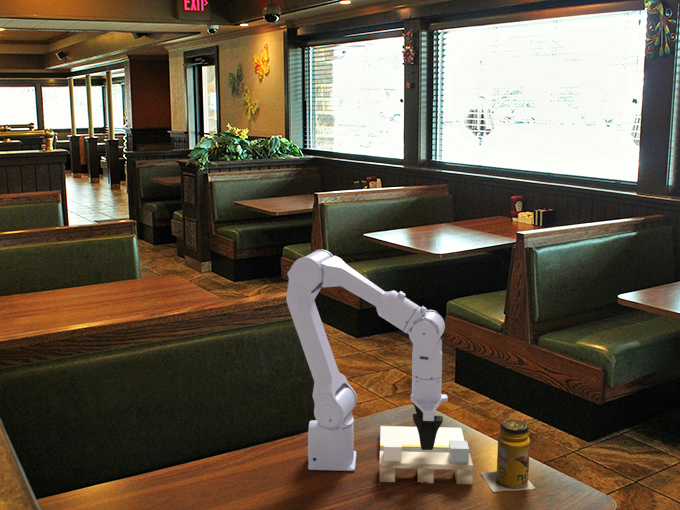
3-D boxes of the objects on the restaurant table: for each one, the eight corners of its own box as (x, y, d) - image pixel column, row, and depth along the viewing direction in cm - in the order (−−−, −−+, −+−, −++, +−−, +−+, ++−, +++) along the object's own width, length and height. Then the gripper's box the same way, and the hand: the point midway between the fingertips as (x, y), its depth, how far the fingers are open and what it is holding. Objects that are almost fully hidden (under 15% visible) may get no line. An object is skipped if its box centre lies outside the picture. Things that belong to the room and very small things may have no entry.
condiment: (535, 489, 134) (538, 430, 132) (493, 492, 133) (495, 433, 130) (520, 470, 141) (523, 415, 139) (480, 474, 140) (482, 417, 138)
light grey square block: (450, 462, 136) (450, 448, 135) (448, 454, 139) (449, 440, 139) (468, 463, 136) (468, 448, 135) (466, 454, 139) (466, 440, 139)
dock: (380, 455, 148) (380, 445, 147) (380, 434, 158) (380, 425, 157) (466, 457, 147) (466, 447, 146) (461, 436, 156) (461, 427, 156)
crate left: (383, 461, 137) (383, 446, 136) (383, 452, 140) (383, 438, 140) (401, 461, 137) (401, 447, 136) (401, 453, 140) (401, 439, 140)
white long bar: (379, 481, 137) (379, 462, 136) (379, 469, 142) (379, 450, 141) (472, 484, 136) (472, 465, 135) (469, 471, 141) (469, 453, 140)
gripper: (451, 389, 127) (449, 458, 130) (444, 362, 142) (443, 424, 144) (412, 388, 128) (411, 457, 130) (409, 361, 142) (409, 424, 145)
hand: (425, 440), depth 137 cm, fingers open, 7 cm apart
